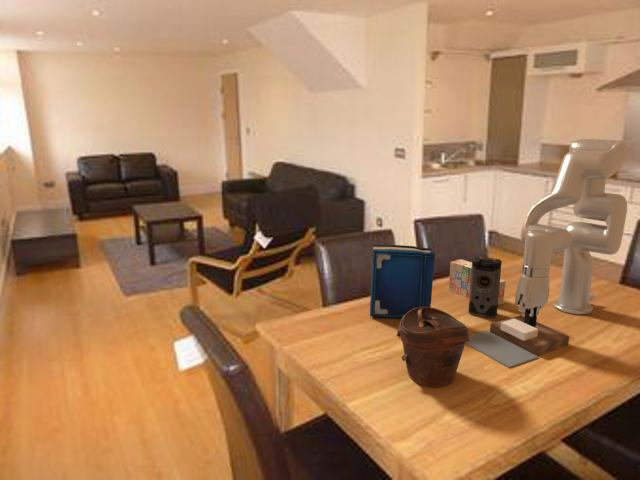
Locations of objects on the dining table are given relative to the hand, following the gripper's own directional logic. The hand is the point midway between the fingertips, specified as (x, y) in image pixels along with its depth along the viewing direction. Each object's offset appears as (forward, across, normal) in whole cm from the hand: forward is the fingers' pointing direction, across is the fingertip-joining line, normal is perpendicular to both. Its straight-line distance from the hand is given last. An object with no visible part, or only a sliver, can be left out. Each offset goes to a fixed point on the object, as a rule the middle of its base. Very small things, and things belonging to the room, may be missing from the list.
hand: (529, 326), depth 153 cm
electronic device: (+4, -2, -21) cm, 22 cm away
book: (+4, +24, -34) cm, 42 cm away
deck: (+4, 0, 0) cm, 4 cm away
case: (+4, +41, +2) cm, 41 cm away
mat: (+4, +14, 0) cm, 14 cm away
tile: (0, +5, 0) cm, 5 cm away
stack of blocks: (+4, -11, -34) cm, 36 cm away
